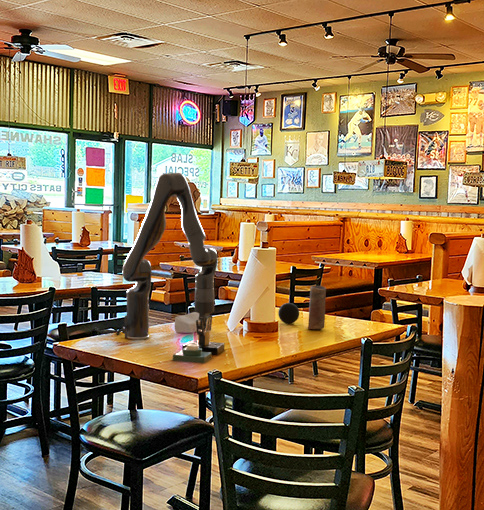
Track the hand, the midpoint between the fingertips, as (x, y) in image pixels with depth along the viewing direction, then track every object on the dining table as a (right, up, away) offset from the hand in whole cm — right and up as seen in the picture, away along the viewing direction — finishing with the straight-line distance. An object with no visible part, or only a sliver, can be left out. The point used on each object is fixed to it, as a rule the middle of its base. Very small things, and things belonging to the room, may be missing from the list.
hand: (204, 343), depth 269 cm
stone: (-7, 0, +44) cm, 44 cm away
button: (-4, -1, -13) cm, 14 cm away
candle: (+50, 0, +52) cm, 72 cm away
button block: (-4, -4, -13) cm, 14 cm away
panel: (0, -3, 0) cm, 3 cm away
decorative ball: (+38, +1, +66) cm, 77 cm away
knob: (0, 0, 0) cm, 0 cm away
